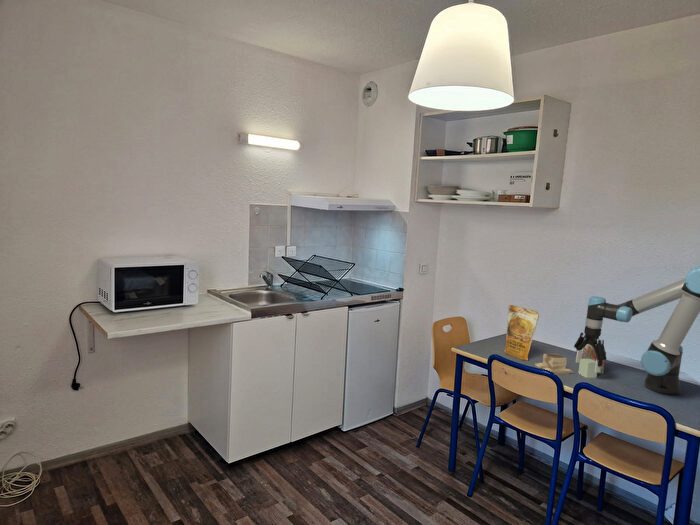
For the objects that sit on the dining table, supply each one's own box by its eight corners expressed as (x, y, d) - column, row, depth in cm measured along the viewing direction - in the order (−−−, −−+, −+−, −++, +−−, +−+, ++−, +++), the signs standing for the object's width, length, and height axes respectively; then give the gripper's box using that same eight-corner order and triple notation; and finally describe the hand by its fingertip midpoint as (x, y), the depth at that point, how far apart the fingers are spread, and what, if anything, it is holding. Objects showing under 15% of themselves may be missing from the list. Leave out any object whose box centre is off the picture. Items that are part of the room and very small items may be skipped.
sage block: (596, 377, 243) (598, 362, 242) (586, 378, 242) (588, 362, 241) (588, 373, 249) (589, 358, 248) (578, 373, 248) (580, 358, 247)
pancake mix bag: (507, 350, 281) (512, 303, 278) (534, 360, 265) (540, 311, 261) (499, 351, 278) (504, 304, 274) (526, 362, 261) (532, 312, 258)
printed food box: (581, 360, 271) (584, 339, 269) (593, 362, 269) (596, 340, 268) (590, 373, 250) (593, 350, 249) (603, 374, 249) (606, 351, 247)
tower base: (573, 373, 247) (574, 359, 246) (551, 374, 244) (553, 360, 243) (555, 364, 260) (557, 351, 259) (534, 365, 257) (536, 351, 256)
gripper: (618, 334, 231) (612, 376, 234) (582, 320, 255) (576, 358, 258) (605, 334, 229) (599, 376, 232) (570, 320, 253) (564, 358, 256)
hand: (587, 367), depth 245 cm, fingers open, 13 cm apart
